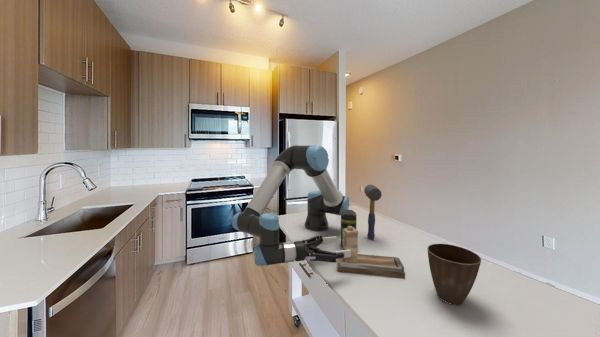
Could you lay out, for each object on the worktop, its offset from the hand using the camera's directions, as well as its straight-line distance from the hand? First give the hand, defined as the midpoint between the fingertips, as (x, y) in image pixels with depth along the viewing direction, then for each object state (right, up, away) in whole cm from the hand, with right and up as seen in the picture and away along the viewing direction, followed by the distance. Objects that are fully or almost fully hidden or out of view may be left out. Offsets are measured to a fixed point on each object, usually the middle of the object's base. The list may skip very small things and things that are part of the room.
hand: (343, 245), depth 96 cm
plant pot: (+33, -12, -18) cm, 39 cm away
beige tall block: (+3, -7, +2) cm, 8 cm away
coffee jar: (+7, -8, +22) cm, 24 cm away
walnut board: (+11, -9, +2) cm, 15 cm away
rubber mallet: (+22, -7, +31) cm, 39 cm away
